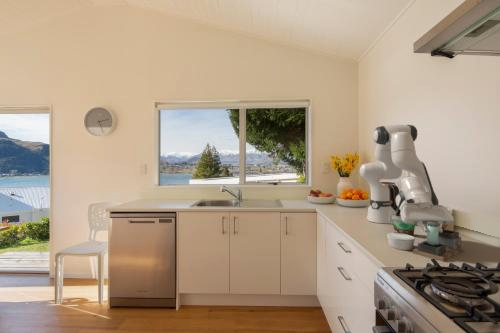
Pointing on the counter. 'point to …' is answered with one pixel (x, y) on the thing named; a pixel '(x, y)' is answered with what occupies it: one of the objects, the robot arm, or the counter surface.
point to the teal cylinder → (432, 232)
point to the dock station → (441, 246)
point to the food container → (402, 226)
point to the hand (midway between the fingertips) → (433, 231)
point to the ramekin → (400, 241)
